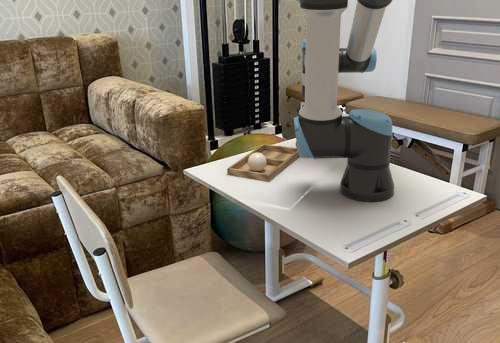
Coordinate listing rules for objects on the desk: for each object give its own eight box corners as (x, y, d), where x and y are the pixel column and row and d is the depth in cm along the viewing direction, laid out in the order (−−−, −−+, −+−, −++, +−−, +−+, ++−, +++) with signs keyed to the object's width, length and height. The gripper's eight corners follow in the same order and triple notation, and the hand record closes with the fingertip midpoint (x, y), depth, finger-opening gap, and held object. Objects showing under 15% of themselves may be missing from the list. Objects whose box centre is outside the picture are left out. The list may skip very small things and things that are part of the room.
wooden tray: (301, 157, 171) (301, 149, 170) (269, 184, 150) (269, 175, 149) (263, 151, 178) (263, 143, 176) (227, 177, 156) (227, 168, 155)
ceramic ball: (270, 168, 159) (269, 151, 157) (261, 175, 154) (261, 157, 152) (253, 166, 162) (252, 148, 160) (244, 172, 157) (244, 154, 155)
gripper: (314, 78, 179) (313, 137, 188) (290, 91, 161) (290, 156, 170) (334, 79, 176) (332, 140, 184) (312, 92, 158) (311, 159, 166)
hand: (312, 147), depth 177 cm, fingers open, 9 cm apart
